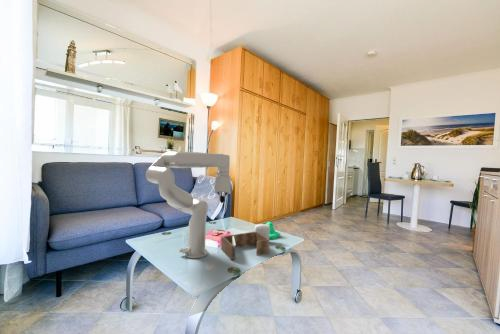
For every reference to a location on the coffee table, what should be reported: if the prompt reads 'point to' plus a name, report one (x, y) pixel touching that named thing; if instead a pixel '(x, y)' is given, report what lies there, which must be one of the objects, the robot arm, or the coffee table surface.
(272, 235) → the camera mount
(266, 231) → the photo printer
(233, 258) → the door
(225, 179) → the robot arm
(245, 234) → the brown wooden open box
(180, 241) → the coffee table surface
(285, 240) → the coffee table surface
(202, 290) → the coffee table surface
